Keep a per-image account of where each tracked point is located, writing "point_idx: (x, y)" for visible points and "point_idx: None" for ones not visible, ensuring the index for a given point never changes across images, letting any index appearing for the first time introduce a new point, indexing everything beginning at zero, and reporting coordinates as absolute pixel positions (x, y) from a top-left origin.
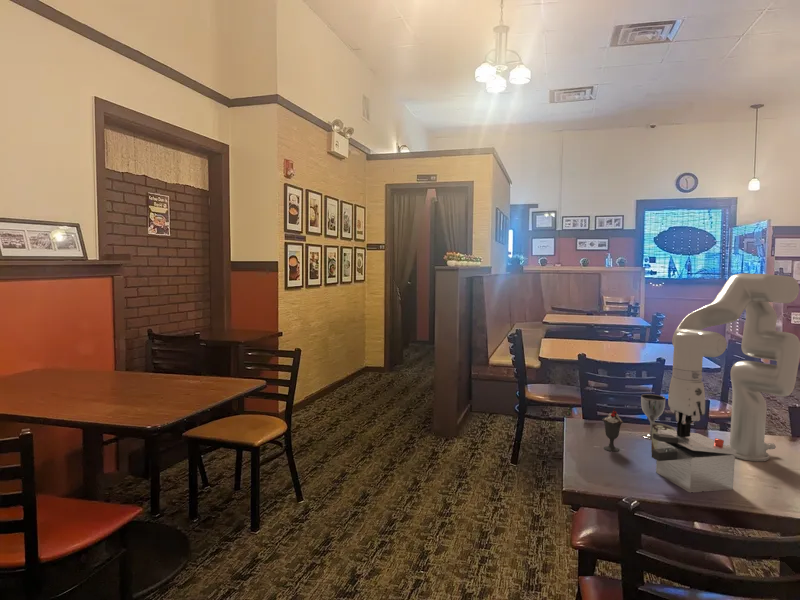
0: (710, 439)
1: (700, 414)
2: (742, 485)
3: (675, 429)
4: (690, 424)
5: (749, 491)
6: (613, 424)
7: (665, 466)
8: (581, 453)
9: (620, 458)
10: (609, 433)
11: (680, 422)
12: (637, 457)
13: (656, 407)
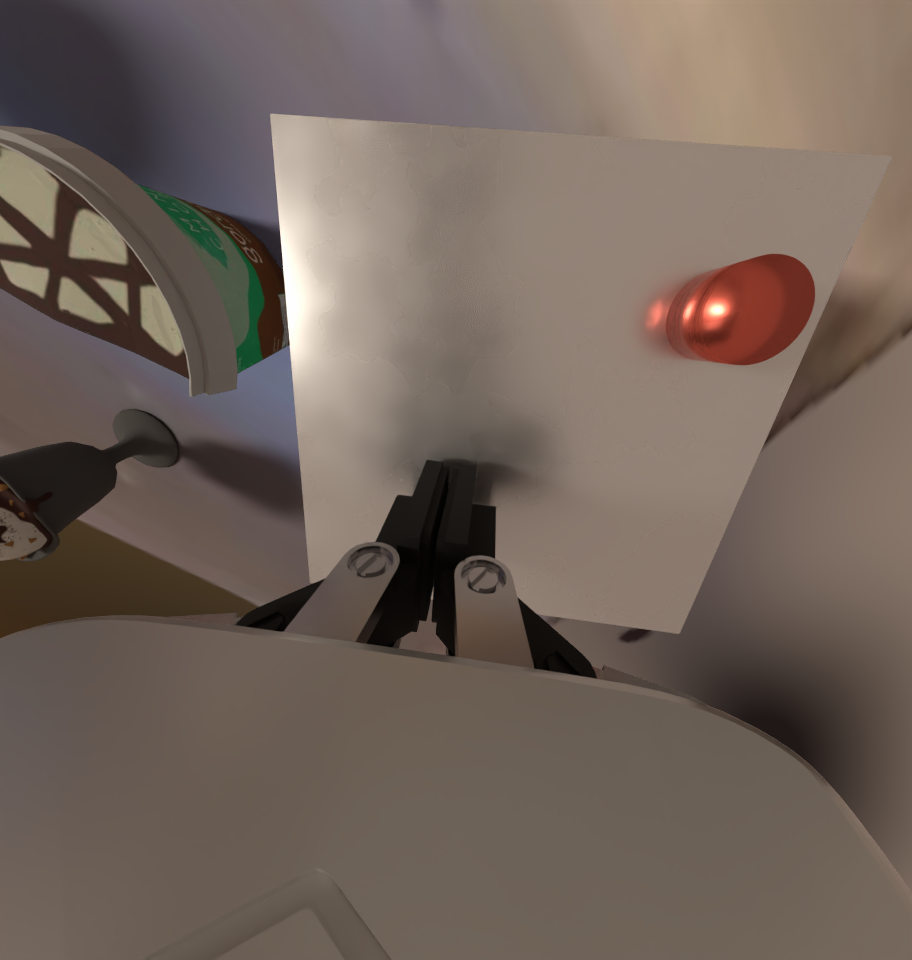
0: (499, 166)
1: (651, 689)
2: (672, 86)
3: (46, 168)
4: (468, 536)
5: (745, 133)
6: (57, 536)
7: None
8: (213, 558)
9: (251, 472)
10: (96, 502)
11: (417, 617)
12: (233, 398)
13: None
